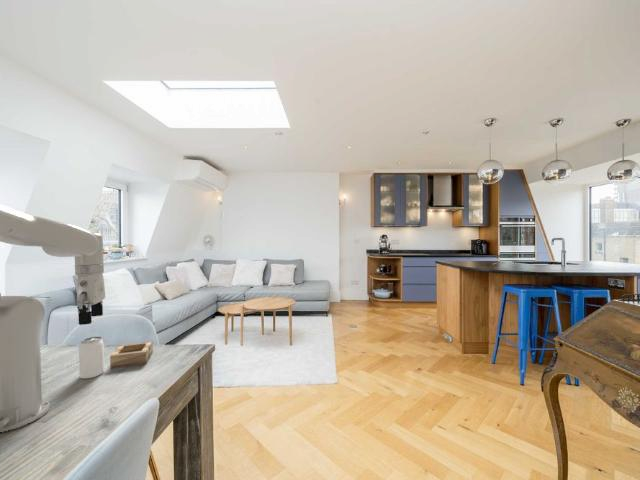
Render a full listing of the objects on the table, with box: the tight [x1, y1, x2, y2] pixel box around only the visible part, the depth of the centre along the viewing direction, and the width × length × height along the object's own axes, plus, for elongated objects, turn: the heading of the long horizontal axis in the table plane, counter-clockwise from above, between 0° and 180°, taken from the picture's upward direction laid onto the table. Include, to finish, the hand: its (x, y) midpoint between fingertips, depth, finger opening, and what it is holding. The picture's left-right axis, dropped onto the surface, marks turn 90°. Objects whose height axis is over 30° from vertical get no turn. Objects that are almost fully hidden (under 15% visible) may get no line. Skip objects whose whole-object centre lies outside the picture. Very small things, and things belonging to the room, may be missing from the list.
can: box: [78, 336, 105, 380], centre depth 96 cm, size 6×6×12 cm
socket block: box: [109, 341, 154, 370], centre depth 107 cm, size 11×11×4 cm
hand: (91, 319), depth 96 cm, fingers open, 9 cm apart
